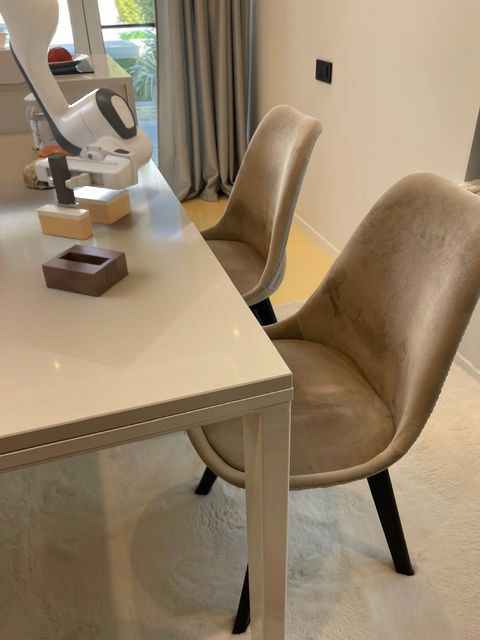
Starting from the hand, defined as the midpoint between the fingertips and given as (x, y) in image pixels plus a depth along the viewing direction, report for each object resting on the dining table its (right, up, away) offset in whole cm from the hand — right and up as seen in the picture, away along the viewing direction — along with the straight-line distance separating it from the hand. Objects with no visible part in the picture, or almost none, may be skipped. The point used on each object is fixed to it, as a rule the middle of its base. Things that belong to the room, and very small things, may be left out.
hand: (59, 183), depth 106 cm
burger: (-18, +20, +48) cm, 55 cm away
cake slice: (0, -9, +5) cm, 10 cm away
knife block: (+9, -20, -12) cm, 25 cm away
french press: (-27, +30, +64) cm, 76 cm away
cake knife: (+1, -7, +6) cm, 9 cm away
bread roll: (-15, +10, +33) cm, 38 cm away
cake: (+4, -3, +14) cm, 15 cm away
